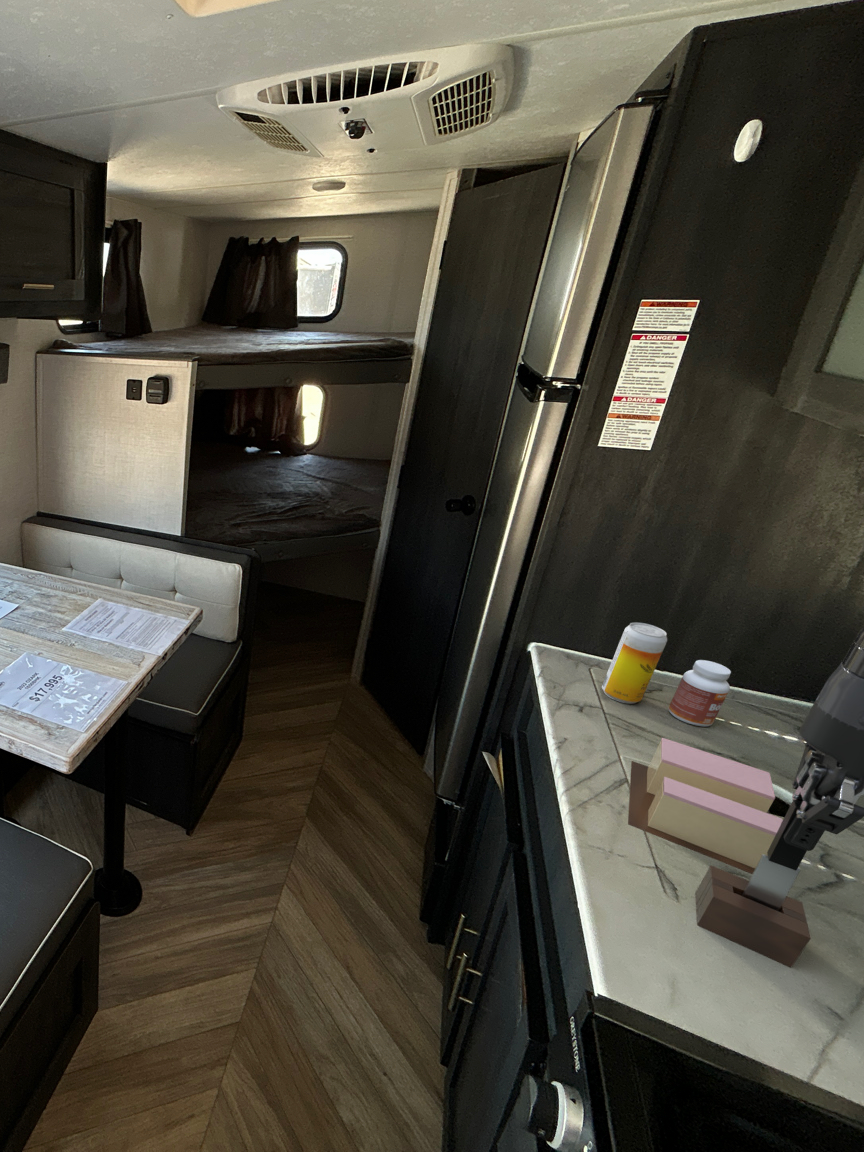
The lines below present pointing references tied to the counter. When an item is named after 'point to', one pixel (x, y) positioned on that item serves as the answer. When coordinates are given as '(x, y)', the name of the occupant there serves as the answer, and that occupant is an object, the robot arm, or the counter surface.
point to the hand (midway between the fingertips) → (795, 838)
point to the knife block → (750, 918)
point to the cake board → (639, 816)
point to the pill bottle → (701, 693)
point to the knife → (776, 867)
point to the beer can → (634, 662)
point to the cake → (710, 775)
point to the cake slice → (712, 822)
